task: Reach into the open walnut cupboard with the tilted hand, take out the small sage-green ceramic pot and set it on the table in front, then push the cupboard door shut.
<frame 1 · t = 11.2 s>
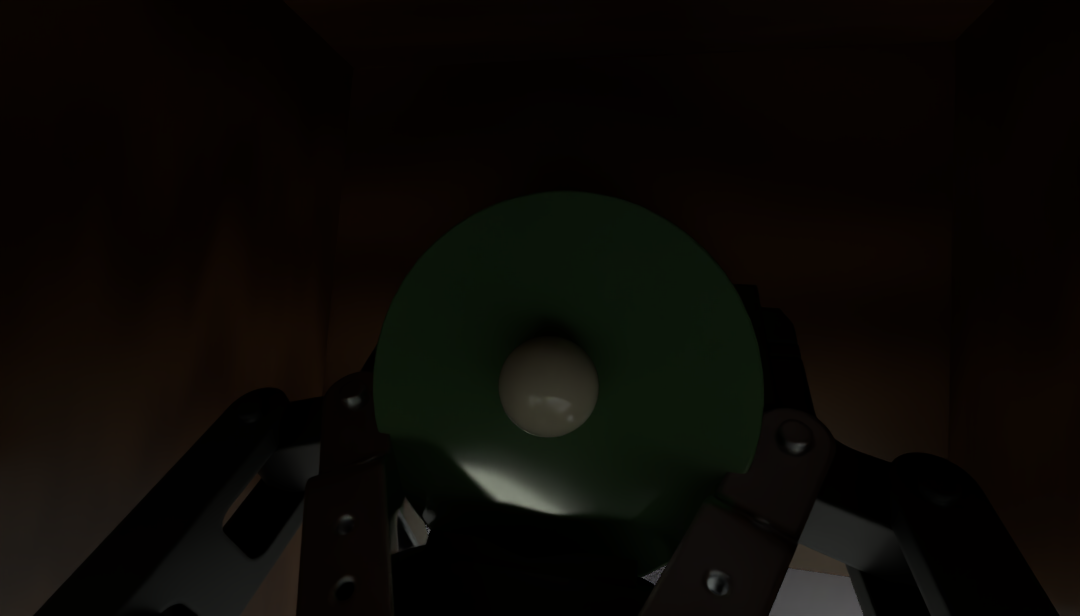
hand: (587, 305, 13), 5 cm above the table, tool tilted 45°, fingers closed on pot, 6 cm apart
cupboard: (608, 280, 18), on the table
pot: (599, 366, 17), point 1 cm above the table, touching cupboard, gripper
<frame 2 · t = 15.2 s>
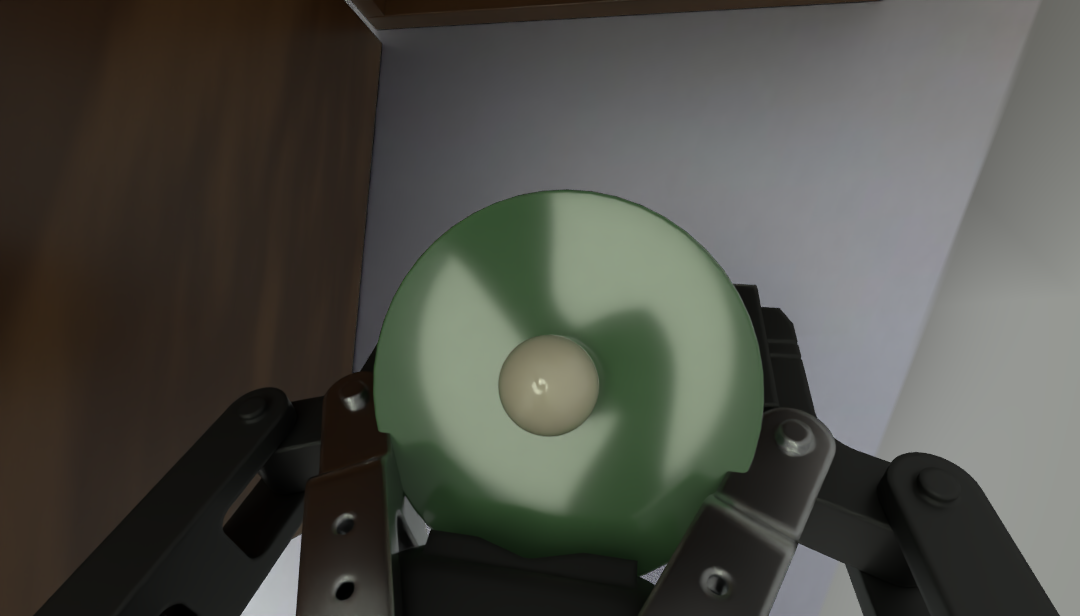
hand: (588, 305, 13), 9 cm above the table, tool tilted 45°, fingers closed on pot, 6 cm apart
pot: (599, 366, 17), point 5 cm above the table, touching gripper
when the fingers open (4 cm above the table, at t = 19.3 s): pot stays where it is, on the table.
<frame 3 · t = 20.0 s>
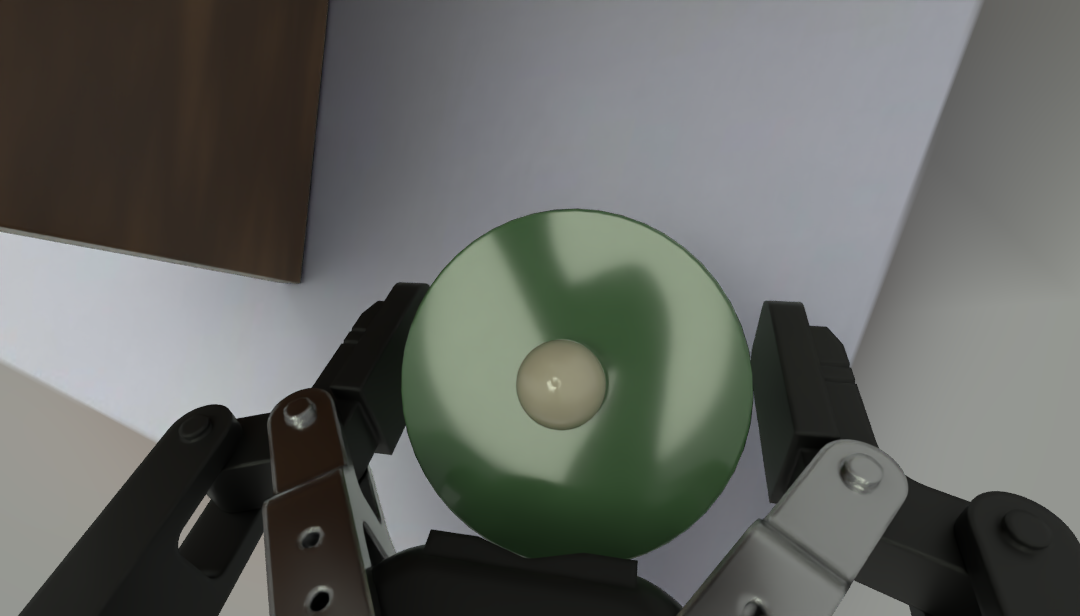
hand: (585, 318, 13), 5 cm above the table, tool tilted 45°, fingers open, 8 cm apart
pot: (603, 367, 18), on the table
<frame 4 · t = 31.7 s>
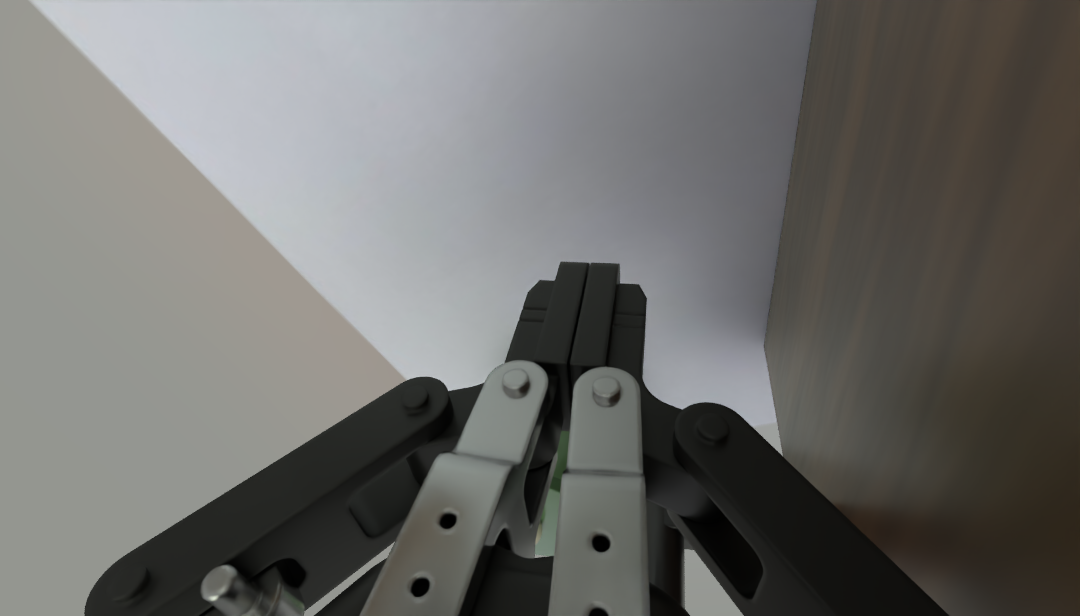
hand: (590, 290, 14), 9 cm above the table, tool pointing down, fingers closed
cupboard door: (792, 402, 9), point 13 cm above the table, hinge at 39.0°, touching hand
pot: (558, 378, 30), on the table
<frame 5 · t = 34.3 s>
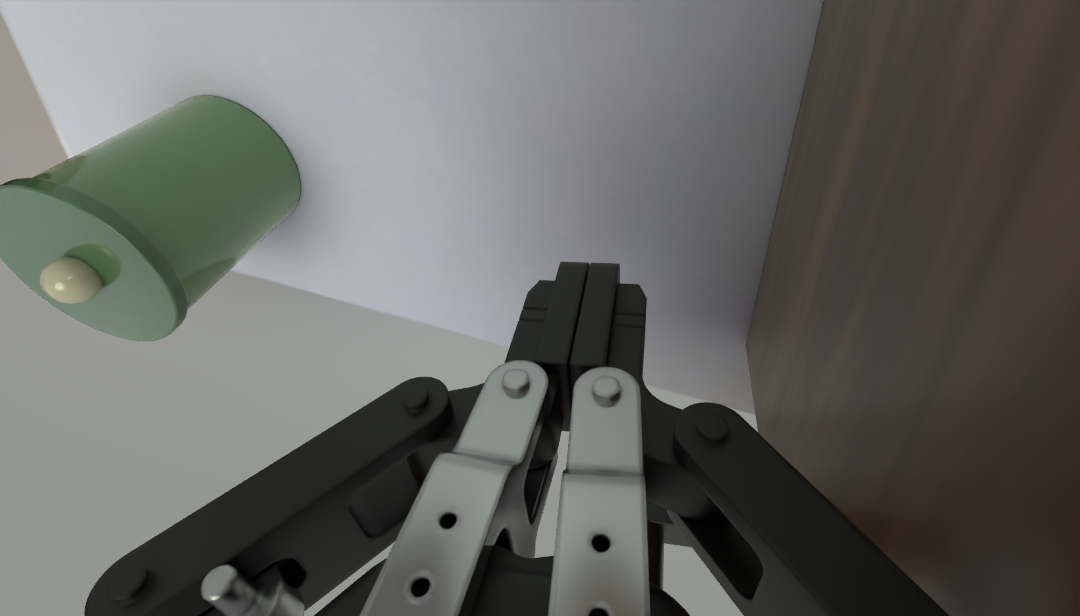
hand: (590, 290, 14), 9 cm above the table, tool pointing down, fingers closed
cupboard door: (791, 403, 9), point 13 cm above the table, hinge at 0.0°, touching hand
pot: (237, 163, 24), on the table
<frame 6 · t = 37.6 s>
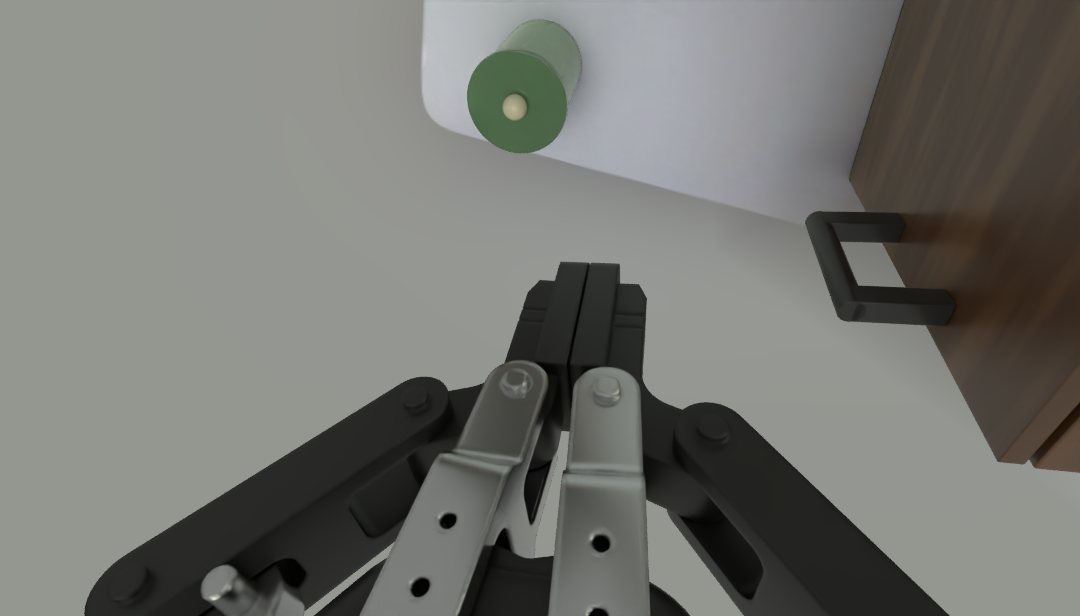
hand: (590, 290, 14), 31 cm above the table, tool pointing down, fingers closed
cupboard: (1073, 14, 32), on the table
cupboard door: (932, 93, 25), point 13 cm above the table, hinge at 0.0°
pot: (541, 64, 40), on the table
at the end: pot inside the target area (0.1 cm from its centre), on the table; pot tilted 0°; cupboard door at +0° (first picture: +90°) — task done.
